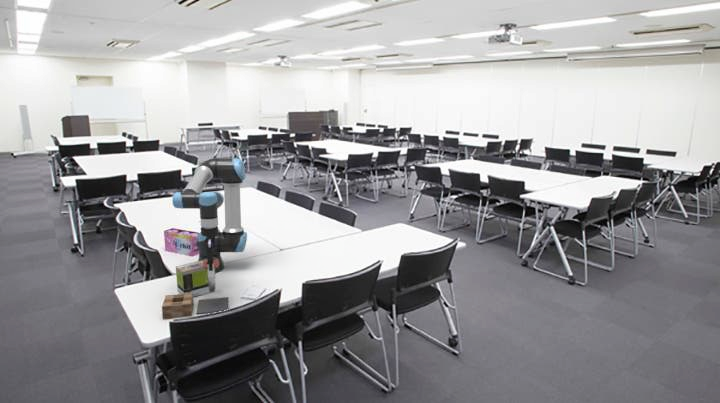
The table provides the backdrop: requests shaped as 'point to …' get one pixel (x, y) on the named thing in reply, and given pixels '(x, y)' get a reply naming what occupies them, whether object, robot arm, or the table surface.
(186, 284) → the tea box
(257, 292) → the external hard drive
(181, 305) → the eye block
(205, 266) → the copper round-headed piece
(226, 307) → the rubber mat
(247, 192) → the table surface
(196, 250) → the gum box
